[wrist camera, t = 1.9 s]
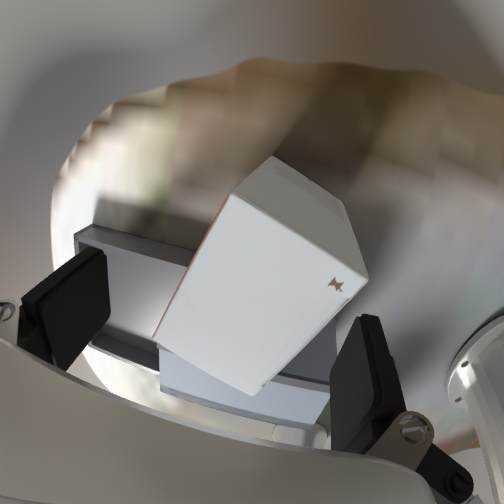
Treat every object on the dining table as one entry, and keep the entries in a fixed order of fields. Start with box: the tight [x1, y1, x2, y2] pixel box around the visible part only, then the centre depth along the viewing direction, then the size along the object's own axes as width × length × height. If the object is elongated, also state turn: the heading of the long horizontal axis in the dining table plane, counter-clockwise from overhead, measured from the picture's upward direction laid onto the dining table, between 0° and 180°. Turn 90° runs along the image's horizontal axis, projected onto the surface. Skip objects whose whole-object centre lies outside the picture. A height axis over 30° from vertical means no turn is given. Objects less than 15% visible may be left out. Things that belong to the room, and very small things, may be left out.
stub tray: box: [74, 224, 196, 376], centre depth 24 cm, size 10×12×2 cm
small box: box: [152, 156, 369, 396], centre depth 16 cm, size 8×6×10 cm
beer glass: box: [272, 422, 327, 449], centre depth 23 cm, size 7×7×15 cm
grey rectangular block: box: [157, 316, 337, 431], centre depth 20 cm, size 10×5×8 cm, turn 80°
